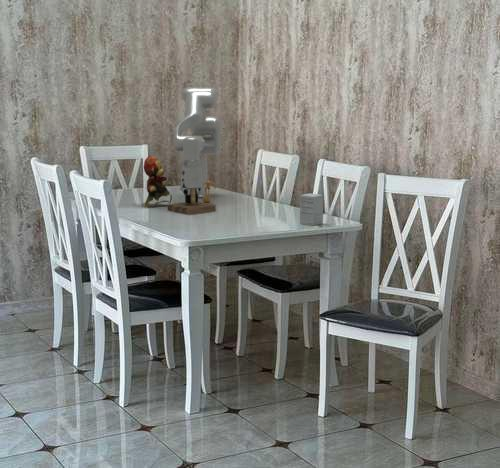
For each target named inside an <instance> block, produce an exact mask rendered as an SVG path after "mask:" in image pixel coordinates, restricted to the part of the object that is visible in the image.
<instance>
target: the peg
mask: <svg viewBox="0 0 500 468" xmlns="http://www.w3.org/2000/svg"><path fill="white" fill-rule="evenodd" d="M190 195H191V203H190V204H188V205H189V206H193V205H196V199H195V188H193V189H190Z"/></svg>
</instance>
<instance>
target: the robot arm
mask: <svg viewBox="0 0 500 468" xmlns="http://www.w3.org/2000/svg"><path fill="white" fill-rule="evenodd" d="M181 94H182V97H183V98H182V99H183V101H184V102H185V108H184V109H185V110H184V118H183V119H182V120H181V121H179V122H178V124H177V125H176V126H175V127H176V128H175V130H174V139H173V145H174V149H175V151H177V152H182V162H181V165H182V168H181V173H180V187H179V191H181V192H182V193H183V194H184V196H185V198H184V199H185V200H184V201H185V203H188V204H190V203H191V195H190V189H193V188H195V199H196V203H198V202H199V198H203V197H204V196H205V194H206V193H205V187H207V186H206V184H204V185H203V183H205V182H207V179H208V161H207V159H206V158H205V157H204V156H203V155H218V154H220V153H221V149H222V139H221V138H222V137H221V135H222V131H221V127H222V126H221V121H220V119H219V117H217V116H214V115H212V116H211V115H208V116H207V115H206V109H214V108H215V107H216V105H217V103H218V102H217V101H218V91H217V89H216V88H215V87H200V86H199V87H197V86H196V87H195V86H194V87H192V86H191V87H185V88H183V89H182V92H181ZM188 129H189V130H190V133H191V135H182V133H184V132H185V131H187V130H188ZM192 134H193V135H192ZM206 192H207V194H206V195H208V193H209V196H210V197H211V193H210V192H208V189H207V190H206Z"/></svg>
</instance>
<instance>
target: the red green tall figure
mask: <svg viewBox="0 0 500 468" xmlns="http://www.w3.org/2000/svg"><path fill="white" fill-rule="evenodd" d="M143 171H144V173H145V175H146V176H148V177H149V178H148V179H147V181H146V190H147V198H146V201H145V202H144V205H143V207H144V208H145V207H147V208H150V207H151V208H153V207H155V206H156V205H158V204H160V203H168V204H171V202H172V194H171V193H170V191H169V190H168V188H167V186H166V185H164V184H163V182H166V180H167V178H168V177H167V176H164V173H165V170H164V168H162V163H161V161H160V160H159V159H158V158H157V157H155V156H151V155H149V156H148V157H146V158H145V159H144V162H143ZM168 196H170V198H169V199H170V200H161V201H159V199H160V198H161V197H168ZM154 200H155V201H156V202H155V203H154V204H153V205H152V206H151V205H150V202H152V201H154Z"/></svg>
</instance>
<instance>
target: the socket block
mask: <svg viewBox="0 0 500 468" xmlns="http://www.w3.org/2000/svg"><path fill="white" fill-rule="evenodd" d="M216 207H217V206H216V204H213V203H209V202H208V203H206V202H201V201H198V203H196V205H193V206H189V205H188V203H185V202H175V203H170V204H169V203H168V204H167V212H172V211H173V213H178V214H183V215H189V216H190V215H196V214H205V213H210V212H216V211H217V209H216Z"/></svg>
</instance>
